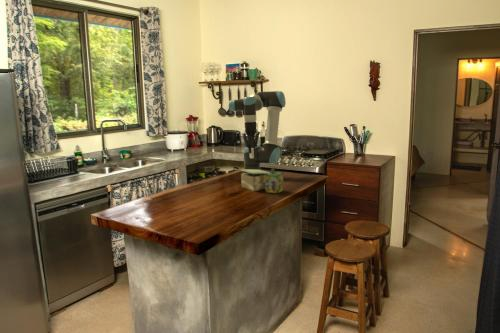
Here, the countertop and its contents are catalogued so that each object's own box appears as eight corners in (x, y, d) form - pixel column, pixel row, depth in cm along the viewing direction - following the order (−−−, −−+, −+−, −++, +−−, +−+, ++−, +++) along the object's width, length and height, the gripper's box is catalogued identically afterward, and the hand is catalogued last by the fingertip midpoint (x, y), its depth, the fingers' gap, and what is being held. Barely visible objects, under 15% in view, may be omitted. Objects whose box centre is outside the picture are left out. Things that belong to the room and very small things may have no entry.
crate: (258, 184, 268) (258, 171, 266) (271, 187, 256) (270, 174, 254) (241, 187, 260) (241, 174, 259) (253, 191, 249) (252, 177, 247)
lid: (259, 170, 266) (259, 169, 266) (271, 173, 255) (271, 172, 255) (241, 170, 258) (241, 169, 258) (253, 173, 247) (253, 172, 247)
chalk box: (278, 194, 241) (277, 170, 238) (264, 192, 245) (264, 169, 242) (284, 190, 249) (283, 167, 246) (270, 189, 253) (270, 166, 250)
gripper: (255, 120, 255) (256, 156, 260) (238, 122, 248) (240, 158, 253) (262, 121, 249) (263, 157, 254) (244, 122, 242) (246, 160, 247)
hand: (251, 158), depth 253 cm, fingers closed
